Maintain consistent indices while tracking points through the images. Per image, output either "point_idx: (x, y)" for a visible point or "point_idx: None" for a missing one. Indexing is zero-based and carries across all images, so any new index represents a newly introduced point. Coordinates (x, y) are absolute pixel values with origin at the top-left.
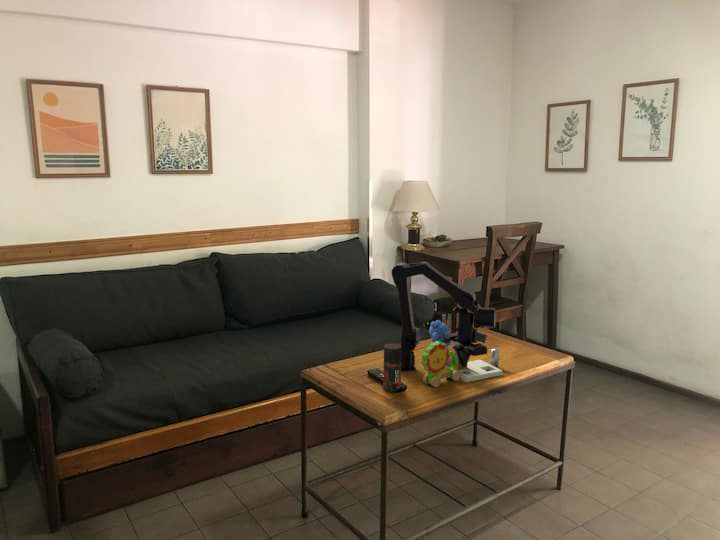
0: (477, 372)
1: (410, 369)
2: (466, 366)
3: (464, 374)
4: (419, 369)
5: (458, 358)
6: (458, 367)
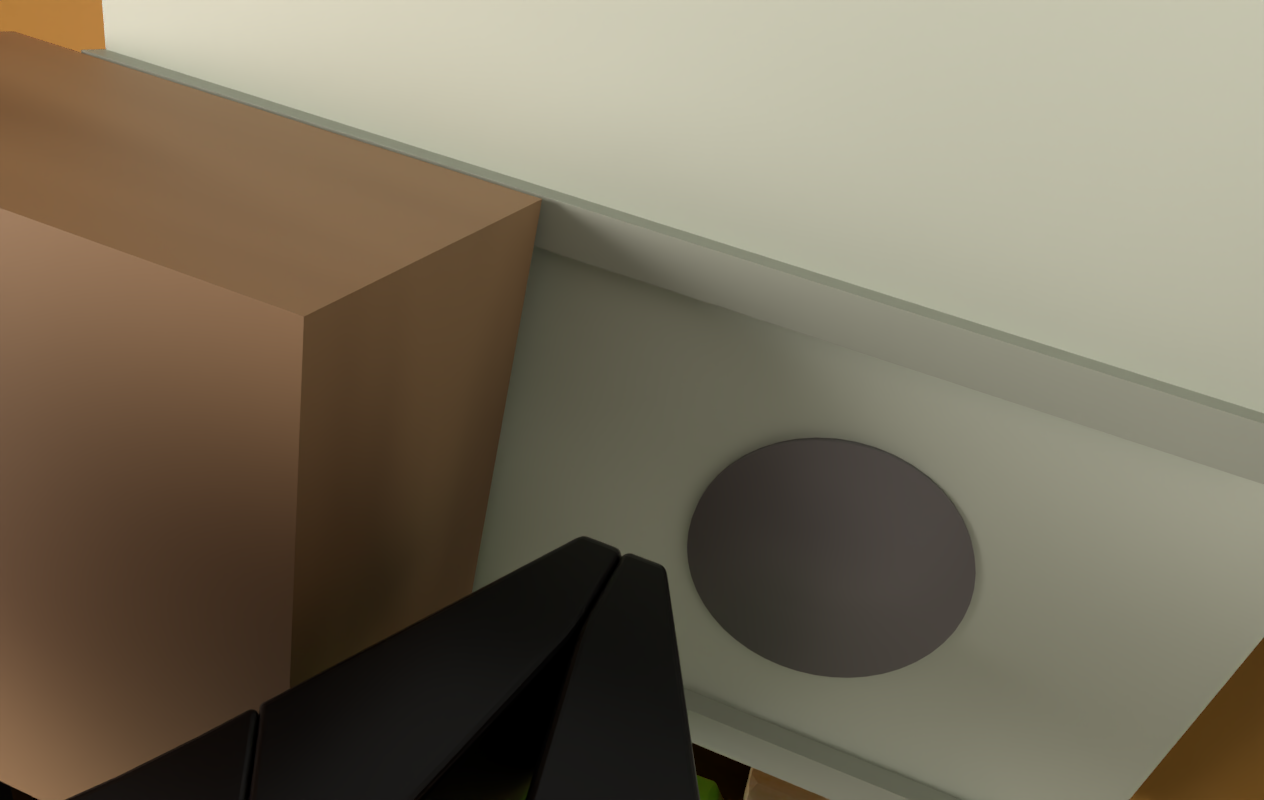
0: (1139, 308)
1: (20, 798)
2: (521, 242)
3: (858, 714)
4: None
5: (175, 674)
6: (464, 557)
